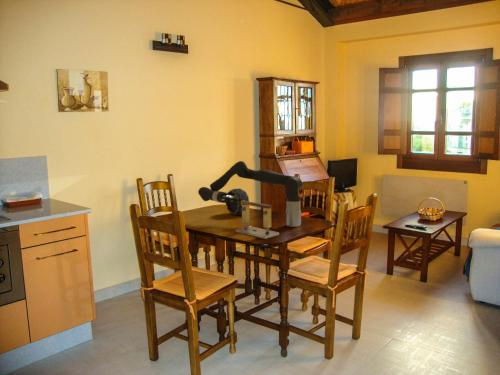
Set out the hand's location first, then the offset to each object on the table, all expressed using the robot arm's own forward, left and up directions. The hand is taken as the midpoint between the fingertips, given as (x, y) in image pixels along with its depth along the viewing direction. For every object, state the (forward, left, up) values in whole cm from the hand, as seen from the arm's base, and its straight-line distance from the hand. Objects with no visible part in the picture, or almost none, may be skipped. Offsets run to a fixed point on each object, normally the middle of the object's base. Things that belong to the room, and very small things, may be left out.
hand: (237, 200), depth 308 cm
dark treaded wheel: (-32, -34, -20) cm, 51 cm away
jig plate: (0, +17, -20) cm, 26 cm away
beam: (0, +17, -2) cm, 17 cm away
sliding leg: (0, +7, -18) cm, 20 cm away
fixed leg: (0, +26, -18) cm, 32 cm away
